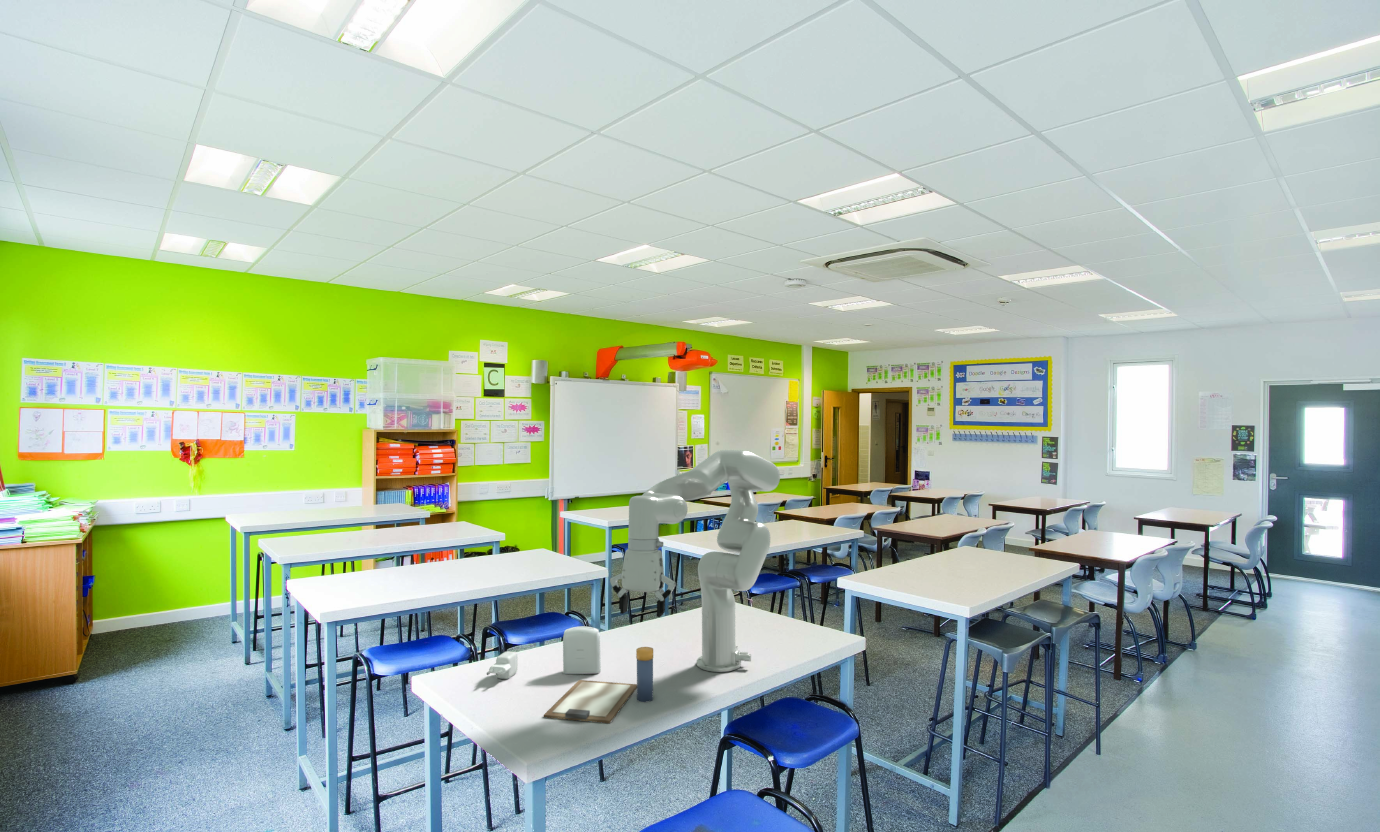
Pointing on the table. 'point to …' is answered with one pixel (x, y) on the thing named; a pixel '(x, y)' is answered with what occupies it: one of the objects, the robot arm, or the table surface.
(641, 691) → the cylinder
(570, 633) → the photo printer
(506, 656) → the power adapter
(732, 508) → the robot arm
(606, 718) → the clipboard
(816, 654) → the table surface
